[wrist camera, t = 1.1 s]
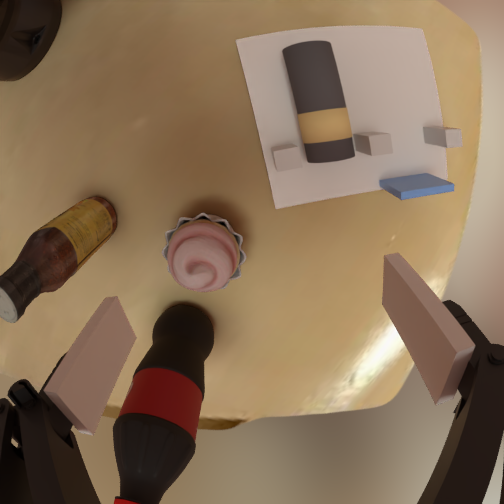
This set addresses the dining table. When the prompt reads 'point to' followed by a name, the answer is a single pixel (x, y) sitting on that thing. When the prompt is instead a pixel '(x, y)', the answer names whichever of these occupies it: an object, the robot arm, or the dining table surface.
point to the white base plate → (354, 115)
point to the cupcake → (204, 253)
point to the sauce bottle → (55, 254)
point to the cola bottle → (163, 407)
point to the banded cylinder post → (319, 101)
